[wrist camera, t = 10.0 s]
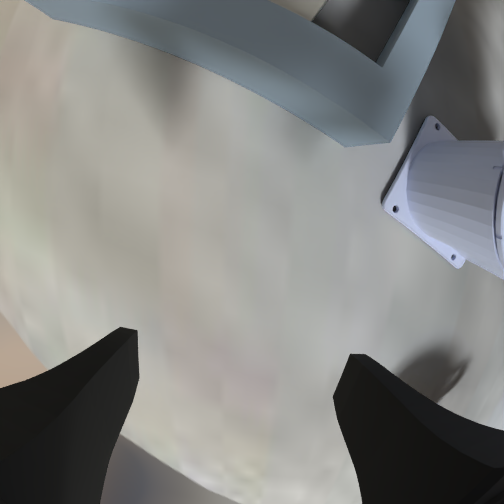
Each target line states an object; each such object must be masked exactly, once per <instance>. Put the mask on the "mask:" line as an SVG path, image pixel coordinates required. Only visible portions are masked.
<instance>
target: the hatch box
mask: <svg viewBox="0 0 504 504" xmlns="http://www.w3.org/2000/svg"><path fill="white" fill-rule="evenodd" d="M25 1H26V2H28V3H29V4H31V5H33V6H34V7H36V8H37V9H39V10H40V11H42V12H43V13H45V14H46V15H48V16H49V17H51V18H52V19H55V20H60V21H65V22H70V23H74V24H78V25H82V26H86V27H90V28H94V29H98V30H101V31H105V32H108V33H112V34H115V35H118V36H121V37H125V38H128V39H131V40H134V41H137V42H140V43H143V44H145V45H148V46H151V47H154V48H156V49H159V50H162V51H164V52H167V53H170V54H172V55H175V56H177V57H180V58H182V59H184V60H187V61H189V62H192V63H194V64H196V65H199V66H201V67H203V68H205V69H208V70H210V71H212V72H214V73H216V74H218V75H221V76H223V77H225V78H227V79H229V80H231V81H233V82H235V83H237V84H239V85H241V86H243V87H245V88H247V89H249V90H251V91H253V92H255V93H256V94H258V95H260V96H262V97H264V98H266V99H268V100H269V101H271V102H273V103H275V104H277V105H278V106H280V107H282V108H284V109H285V110H287V111H289V112H290V113H292V114H294V115H296V116H297V117H299V118H301V119H302V120H304V121H305V122H307V123H309V124H310V125H312V126H314V127H315V128H317V129H318V130H320V131H321V132H323V133H325V134H326V135H328V136H329V137H331V138H332V139H334V140H335V141H337V142H338V143H340V144H341V145H343V146H344V147H352V146H361V145H371V144H381V143H390V142H391V141H392V139H393V137H394V135H395V133H396V131H397V129H398V127H399V125H400V123H401V121H402V119H403V117H404V115H405V113H406V111H407V109H408V107H409V105H410V103H411V101H412V99H413V97H414V95H415V93H416V91H417V89H418V87H419V85H420V83H421V80H422V78H423V76H424V74H425V72H426V70H427V67H428V65H429V63H430V61H431V59H432V56H433V54H434V52H435V50H436V47H437V45H438V43H439V40H440V38H441V36H442V33H443V31H444V28H445V26H446V24H447V21H448V19H449V16H450V14H451V11H452V8H453V6H454V3H455V1H456V0H410V2H409V4H408V6H407V7H406V9H405V11H404V13H403V15H402V16H401V18H400V20H399V22H398V24H397V26H396V27H395V29H394V31H393V33H392V34H391V36H390V38H389V40H388V42H387V43H386V45H385V47H384V49H383V51H382V52H381V54H380V56H379V58H378V59H377V61H376V63H375V62H374V61H372V60H371V59H370V58H368V57H367V56H365V55H364V54H362V53H361V52H360V51H358V50H357V49H355V48H354V47H352V46H351V45H349V44H348V43H346V42H344V41H343V40H341V39H340V38H338V37H336V36H335V35H333V34H332V33H330V32H328V31H326V30H325V29H323V28H321V27H320V26H318V25H316V24H314V23H313V22H312V21H313V20H314V19H315V17H316V16H317V15H318V13H319V12H320V10H321V9H322V8H323V6H324V5H325V4H326V2H327V1H328V0H25Z"/></svg>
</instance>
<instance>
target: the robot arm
mask: <svg viewBox="0 0 504 504" xmlns="http://www.w3.org/2000/svg"><path fill="white" fill-rule="evenodd" d="M435 124H436V125H437V130H436V128H435ZM394 206H396V211H395V212H393V207H394ZM382 208H383V209H384V211H386V212H387V213H388V214H390V215H391V216H392V217H394V218H395V219H396V220H398V221H399V222H400V223H402V224H403V225H404V226H405V227H407V228H408V229H409V230H411V231H412V232H413V233H414V234H416V235H417V236H418V237H419V238H421V239H422V240H423V241H424V242H426V243H427V244H428V245H429V246H430V247H432V248H433V249H434V250H435V251H436V252H438V253H439V254H440V255H441V256H442V257H444V258H445V259H446V260H447V261H448V262H449V263H450V264H452V265H453V266H454V267H455V268H457V269H459V268H461V267H462V265H463V264H464V262H465V260H468V261H470V262H472V263H474V264H476V265H477V266H479V267H481V268H483V269H485V270H487V271H489V272H490V273H492V274H494V275H496V276H498V277H499V278H501V279H503V280H504V141H490V140H459V141H458V140H457V139H456V138H455V137H454V135H453V134H452V133H451V132H450V131H449V130H448V129H447V128H446V127H445V126H444V125H443V124H442V123H441V122H440V121H439V120H438V119H436V118H435V117H434V116H427V117H426V118H425V121H424V123H423V125H422V127H421V129H420V131H419V133H418V135H417V137H416V139H415V141H414V143H413V145H412V147H411V149H410V151H409V153H408V155H407V157H406V159H405V161H404V163H403V165H402V167H401V168H400V170H399V172H398V174H397V176H396V178H395V180H394V182H393V183H392V185H391V187H390V189H389V191H388V192H387V194H386V196H385V198H384V200H383V202H382ZM452 255H453V257H452ZM451 257H452V258H451ZM138 381H139V361H138V331H137V330H133V329H128V328H123V327H119V328H118V329H116V330H114V331H113V332H111V333H110V334H108V335H107V336H105V337H104V338H102V339H101V340H99V341H98V342H96V343H95V344H93V345H92V346H90V347H89V348H87V349H86V350H84V351H82V352H81V353H79V354H78V355H76V356H74V357H72V358H70V359H69V360H67V361H65V362H63V363H62V364H60V365H58V366H56V367H54V368H52V369H50V370H48V371H46V372H44V373H42V374H39V375H37V376H35V377H32V378H30V379H27V380H25V381H22V382H19V383H15V384H12V385H9V386H6V387H3V388H0V504H100V500H101V495H102V490H103V485H104V480H105V476H106V472H107V468H108V464H109V460H110V457H111V454H112V451H113V448H114V446H115V443H116V441H117V439H118V436H119V434H120V431H121V429H122V426H123V424H124V422H125V419H126V417H127V414H128V412H129V410H130V407H131V405H132V402H133V399H134V395H135V392H136V388H137V384H138ZM333 400H334V406H335V411H336V415H337V420H338V423H339V426H340V429H341V431H342V434H343V437H344V440H345V442H346V445H347V448H348V451H349V453H350V456H351V459H352V462H353V464H354V467H355V471H356V474H357V478H358V482H359V487H360V492H361V497H362V504H504V431H503V430H499V429H495V428H491V427H488V426H485V425H482V424H479V423H476V422H474V421H471V420H469V419H466V418H464V417H461V416H459V415H457V414H455V413H453V412H451V411H449V410H447V409H445V408H443V407H441V406H440V405H438V404H436V403H434V402H433V401H431V400H430V399H428V398H427V397H425V396H423V395H422V394H420V393H419V392H417V391H416V390H414V389H413V388H412V387H410V386H409V385H407V384H406V383H405V382H403V381H402V380H401V379H399V378H398V377H397V376H395V375H394V374H393V373H391V372H390V371H389V370H387V369H386V368H385V367H383V366H382V365H380V364H379V363H378V362H376V361H375V360H373V359H372V358H370V357H369V356H367V355H366V354H350V356H349V358H348V361H347V363H346V366H345V368H344V371H343V373H342V376H341V378H340V381H339V383H338V385H337V388H336V390H335V392H334V395H333Z"/></svg>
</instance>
